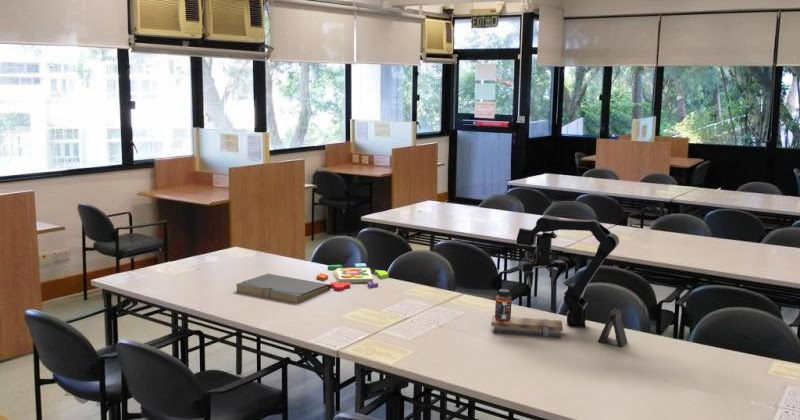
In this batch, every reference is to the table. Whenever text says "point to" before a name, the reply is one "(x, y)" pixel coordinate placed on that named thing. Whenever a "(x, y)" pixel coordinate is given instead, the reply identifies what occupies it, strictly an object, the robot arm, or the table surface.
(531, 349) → the table surface
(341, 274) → the pattern blocks set
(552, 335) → the beam stand
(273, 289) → the file folder
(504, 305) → the supplement bottle
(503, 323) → the balance beam
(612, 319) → the grey a-frame stand
